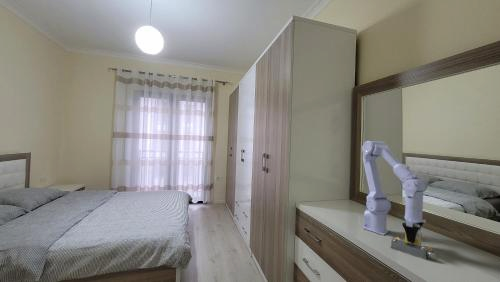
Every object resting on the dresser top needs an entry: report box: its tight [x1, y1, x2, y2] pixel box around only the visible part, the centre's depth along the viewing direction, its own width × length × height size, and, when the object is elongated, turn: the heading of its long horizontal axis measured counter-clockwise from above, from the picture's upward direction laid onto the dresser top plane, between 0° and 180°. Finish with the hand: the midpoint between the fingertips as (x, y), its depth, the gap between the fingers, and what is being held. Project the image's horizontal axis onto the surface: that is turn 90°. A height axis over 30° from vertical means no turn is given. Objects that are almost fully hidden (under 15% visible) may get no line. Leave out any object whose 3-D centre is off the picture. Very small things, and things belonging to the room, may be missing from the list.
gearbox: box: [390, 237, 436, 260], centre depth 83 cm, size 13×4×3 cm, turn 43°
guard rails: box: [395, 236, 434, 252], centre depth 88 cm, size 12×8×1 cm, turn 43°
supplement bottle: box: [404, 223, 423, 247], centre depth 89 cm, size 5×5×10 cm
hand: (412, 239), depth 89 cm, fingers open, 6 cm apart
